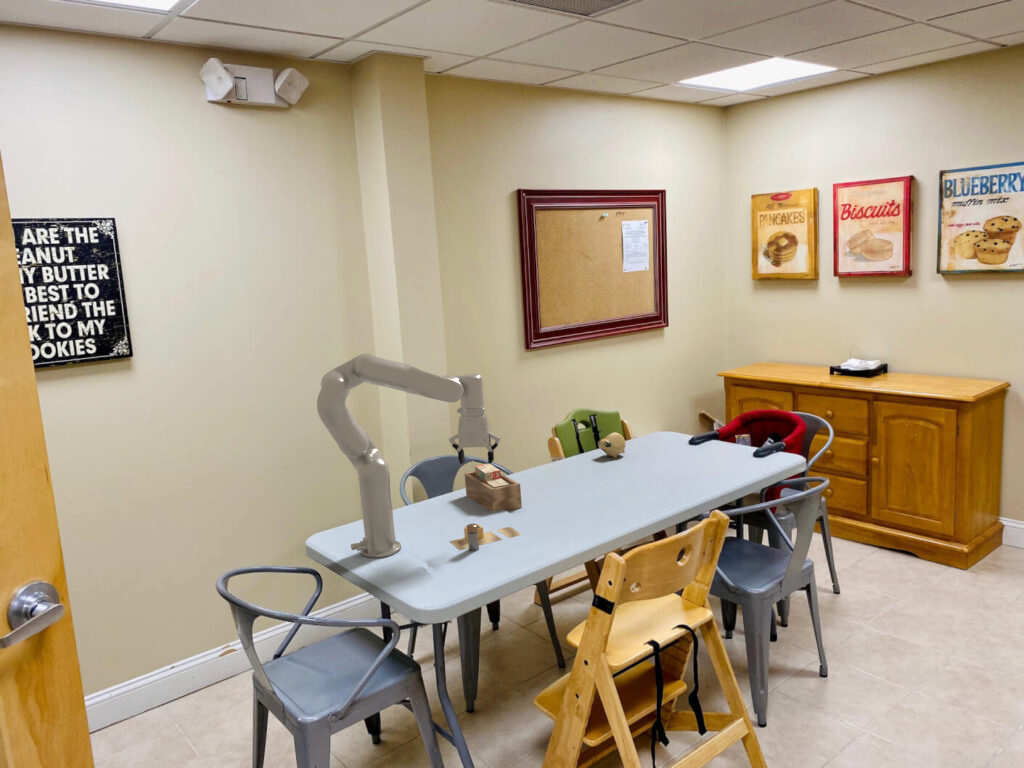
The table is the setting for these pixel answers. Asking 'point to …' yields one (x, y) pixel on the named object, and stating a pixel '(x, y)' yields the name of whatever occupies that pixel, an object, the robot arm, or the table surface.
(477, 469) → the stack of blocks
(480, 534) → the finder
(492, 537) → the board
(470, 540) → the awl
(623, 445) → the toy pig
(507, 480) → the block caddy
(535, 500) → the table surface
